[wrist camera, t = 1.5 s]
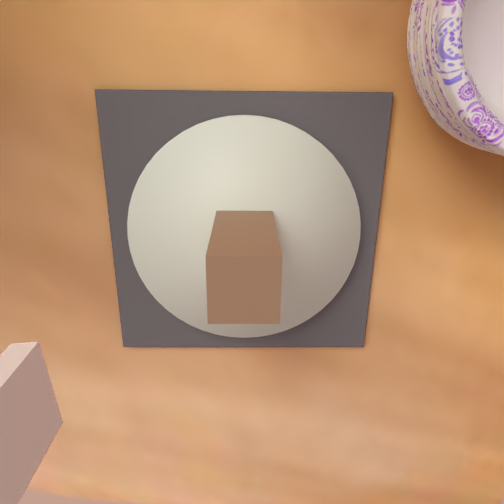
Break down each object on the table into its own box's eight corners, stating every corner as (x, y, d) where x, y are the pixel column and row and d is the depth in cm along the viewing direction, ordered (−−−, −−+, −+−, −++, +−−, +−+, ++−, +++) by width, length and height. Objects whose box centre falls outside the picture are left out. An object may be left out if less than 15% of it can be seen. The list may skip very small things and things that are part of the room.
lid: (140, 331, 35) (102, 418, 26) (119, 113, 29) (61, 125, 20) (347, 331, 36) (383, 417, 26) (368, 115, 30) (425, 128, 20)
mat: (124, 344, 36) (123, 346, 36) (96, 89, 29) (94, 89, 29) (362, 344, 37) (363, 346, 36) (391, 92, 30) (393, 92, 29)
